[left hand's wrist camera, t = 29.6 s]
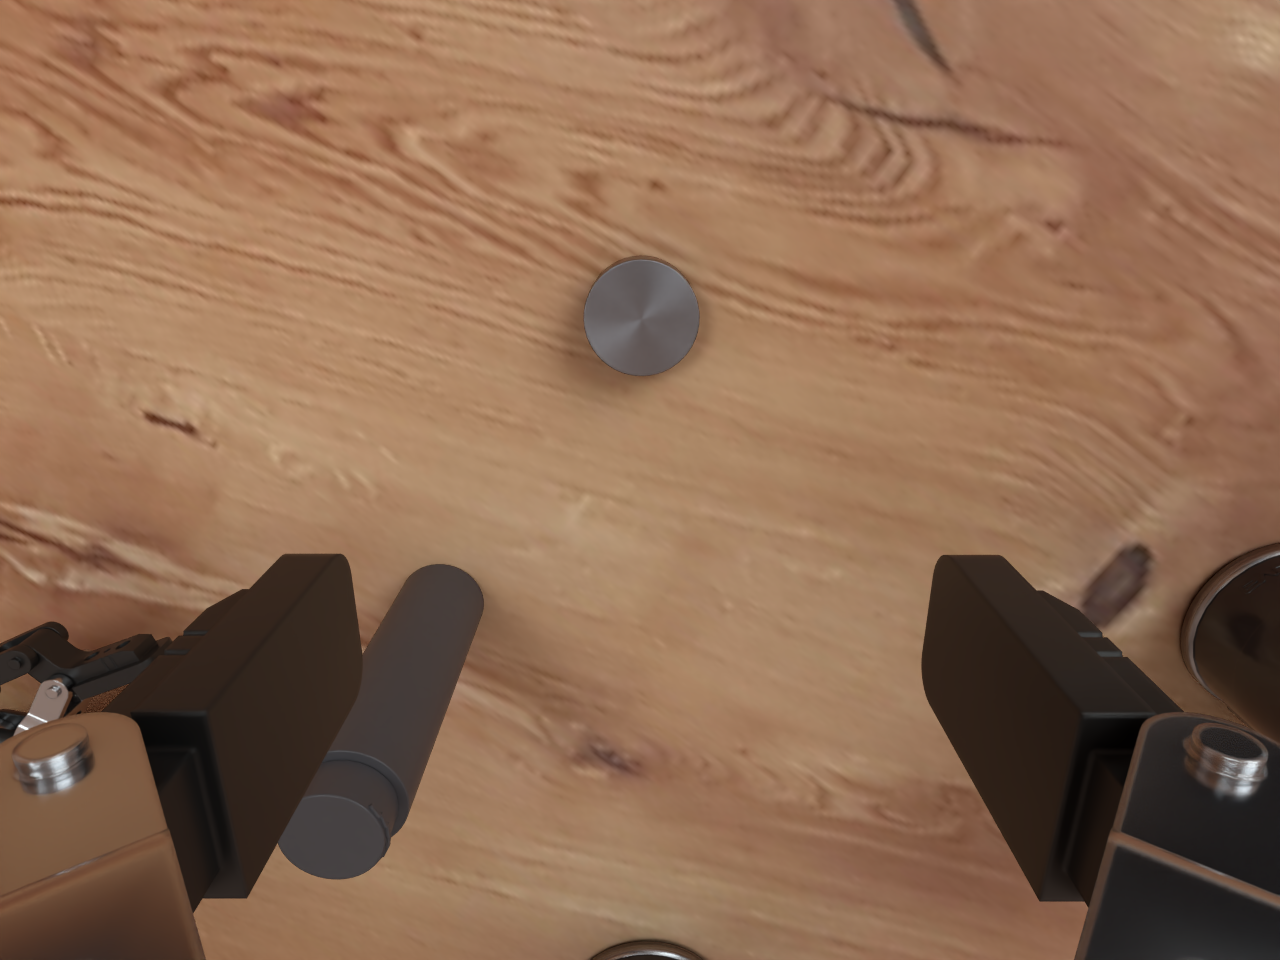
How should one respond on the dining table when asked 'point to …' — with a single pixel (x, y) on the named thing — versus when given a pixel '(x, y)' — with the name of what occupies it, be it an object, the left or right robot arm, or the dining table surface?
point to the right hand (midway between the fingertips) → (215, 729)
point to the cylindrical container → (387, 727)
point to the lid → (641, 316)
